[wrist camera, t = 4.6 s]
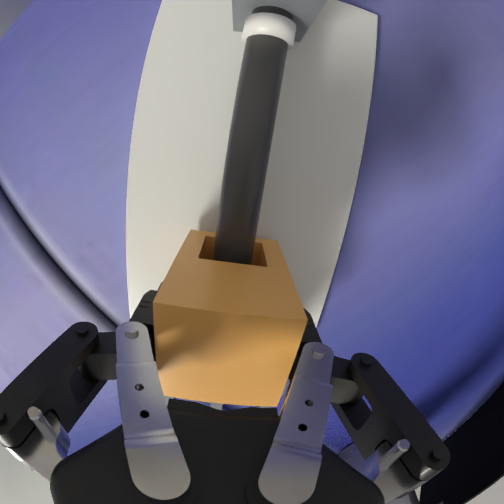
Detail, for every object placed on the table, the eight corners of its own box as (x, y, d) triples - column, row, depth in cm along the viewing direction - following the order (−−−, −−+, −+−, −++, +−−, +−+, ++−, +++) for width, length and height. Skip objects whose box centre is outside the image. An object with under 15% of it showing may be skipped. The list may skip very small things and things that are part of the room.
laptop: (458, 447, 45) (479, 490, 27) (388, 461, 37) (413, 531, 19) (535, 364, 35) (568, 405, 17) (511, 341, 27) (568, 410, 9)
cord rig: (308, 334, 21) (334, 413, 14) (134, 313, 20) (97, 389, 12) (371, 19, 12) (434, -25, 5) (172, -14, 11) (142, -79, 3)
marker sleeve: (263, 310, 18) (276, 406, 11) (185, 301, 18) (159, 394, 10) (277, 240, 16) (307, 319, 9) (190, 229, 16) (152, 301, 8)
